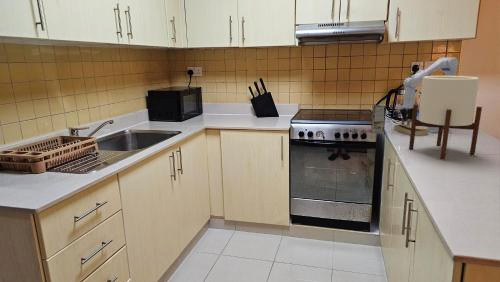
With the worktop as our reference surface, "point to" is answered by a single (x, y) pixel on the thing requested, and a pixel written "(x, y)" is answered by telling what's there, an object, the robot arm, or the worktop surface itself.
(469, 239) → the worktop surface
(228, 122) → the worktop surface
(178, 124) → the worktop surface
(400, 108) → the robot arm
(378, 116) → the coffee box
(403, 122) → the carton lid
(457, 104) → the plant pot with stand
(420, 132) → the tan tray
